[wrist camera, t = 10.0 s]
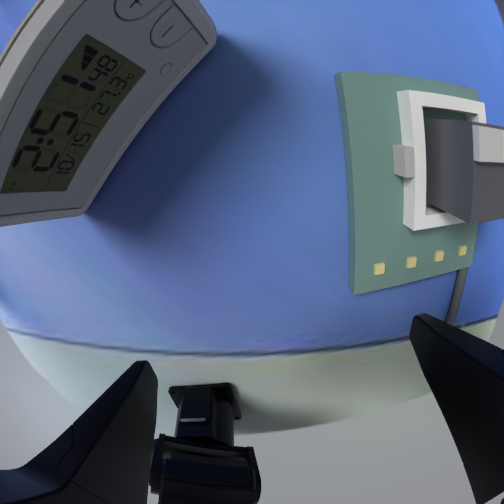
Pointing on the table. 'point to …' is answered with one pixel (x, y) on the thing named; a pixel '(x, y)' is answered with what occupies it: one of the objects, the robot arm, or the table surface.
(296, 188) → the table surface
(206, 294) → the table surface
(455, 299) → the lead
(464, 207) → the plug
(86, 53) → the digital clock
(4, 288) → the table surface
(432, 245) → the header board
